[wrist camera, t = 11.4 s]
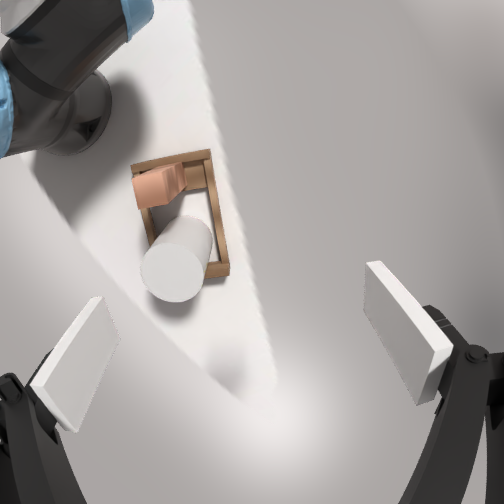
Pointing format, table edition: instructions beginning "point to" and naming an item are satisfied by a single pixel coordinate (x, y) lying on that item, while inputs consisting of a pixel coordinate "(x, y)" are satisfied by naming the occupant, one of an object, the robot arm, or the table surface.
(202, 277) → the cup
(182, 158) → the sled
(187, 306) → the table surface
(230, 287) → the table surface
